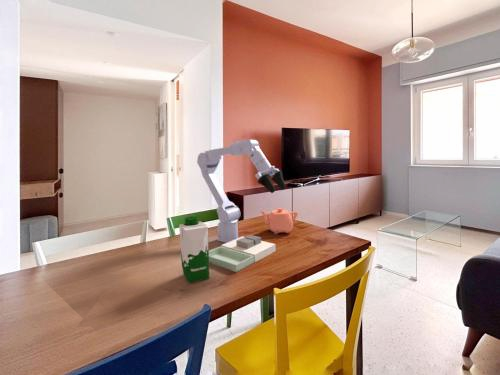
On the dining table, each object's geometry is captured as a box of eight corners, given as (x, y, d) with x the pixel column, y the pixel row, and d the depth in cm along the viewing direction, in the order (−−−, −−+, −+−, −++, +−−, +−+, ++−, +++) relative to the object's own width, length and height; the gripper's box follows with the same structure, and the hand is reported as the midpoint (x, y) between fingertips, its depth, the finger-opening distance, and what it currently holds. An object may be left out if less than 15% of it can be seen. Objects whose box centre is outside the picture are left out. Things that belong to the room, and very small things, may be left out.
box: (202, 260, 105) (201, 253, 105) (220, 252, 113) (220, 246, 113) (236, 272, 94) (236, 265, 94) (254, 262, 102) (254, 256, 101)
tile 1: (236, 245, 111) (236, 240, 111) (242, 243, 114) (242, 237, 114) (247, 249, 108) (247, 243, 107) (253, 246, 111) (253, 240, 110)
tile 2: (244, 242, 115) (244, 237, 115) (250, 240, 118) (250, 234, 118) (255, 245, 111) (255, 239, 111) (261, 242, 114) (261, 237, 114)
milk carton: (204, 268, 98) (201, 214, 95) (213, 278, 90) (210, 220, 87) (180, 274, 93) (176, 218, 91) (186, 285, 86) (183, 224, 83)
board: (221, 251, 113) (221, 245, 113) (243, 242, 124) (242, 236, 124) (255, 262, 102) (254, 254, 102) (275, 251, 113) (275, 244, 112)
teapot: (257, 228, 145) (257, 206, 144) (293, 226, 148) (293, 204, 146) (262, 236, 132) (261, 212, 130) (301, 234, 135) (301, 210, 133)
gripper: (256, 158, 104) (275, 187, 100) (277, 156, 115) (294, 181, 112) (246, 169, 108) (263, 197, 105) (266, 166, 119) (283, 191, 116)
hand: (279, 190), depth 108 cm, fingers open, 7 cm apart
